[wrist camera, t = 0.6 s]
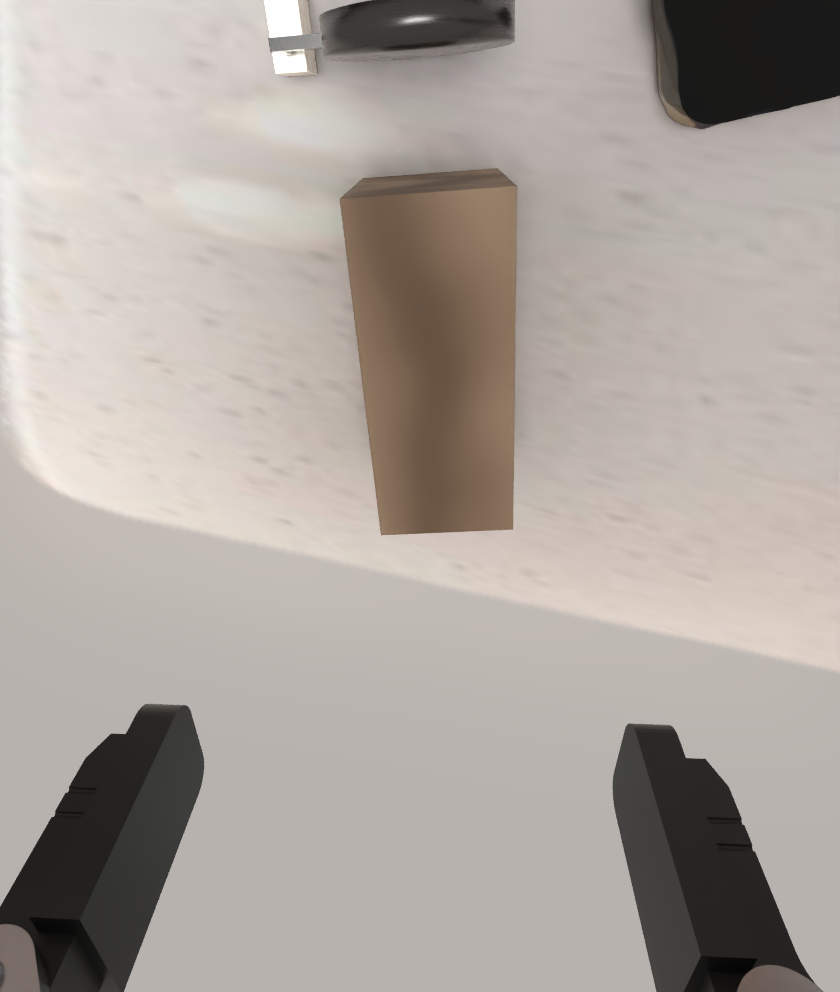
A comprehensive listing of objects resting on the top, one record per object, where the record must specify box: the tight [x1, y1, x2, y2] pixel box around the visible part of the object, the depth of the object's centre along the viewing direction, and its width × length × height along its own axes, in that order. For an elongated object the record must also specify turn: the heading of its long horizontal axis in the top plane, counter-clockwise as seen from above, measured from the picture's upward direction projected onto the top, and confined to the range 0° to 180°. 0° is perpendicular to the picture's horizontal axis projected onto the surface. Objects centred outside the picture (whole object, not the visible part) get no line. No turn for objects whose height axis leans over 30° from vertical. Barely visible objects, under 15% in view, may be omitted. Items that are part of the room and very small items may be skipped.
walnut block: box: [340, 169, 517, 535], centre depth 28 cm, size 6×14×8 cm, turn 4°
